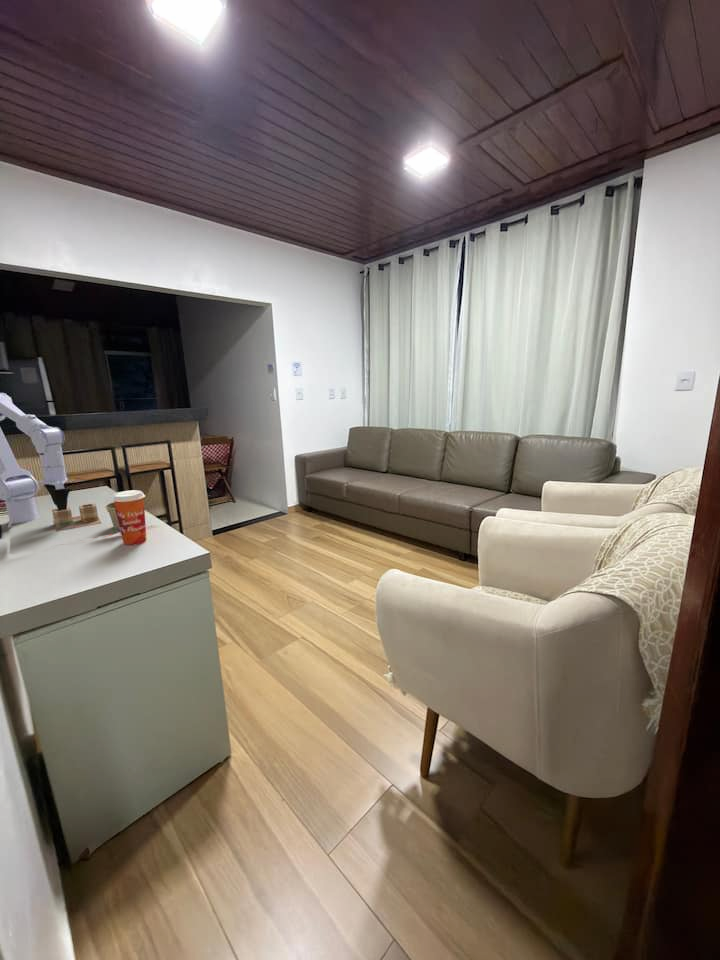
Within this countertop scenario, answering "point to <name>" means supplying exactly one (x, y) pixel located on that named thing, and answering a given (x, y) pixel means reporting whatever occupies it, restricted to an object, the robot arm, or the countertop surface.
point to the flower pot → (113, 514)
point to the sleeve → (62, 517)
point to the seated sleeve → (88, 512)
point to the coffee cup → (131, 516)
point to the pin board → (77, 524)
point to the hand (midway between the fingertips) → (60, 506)
